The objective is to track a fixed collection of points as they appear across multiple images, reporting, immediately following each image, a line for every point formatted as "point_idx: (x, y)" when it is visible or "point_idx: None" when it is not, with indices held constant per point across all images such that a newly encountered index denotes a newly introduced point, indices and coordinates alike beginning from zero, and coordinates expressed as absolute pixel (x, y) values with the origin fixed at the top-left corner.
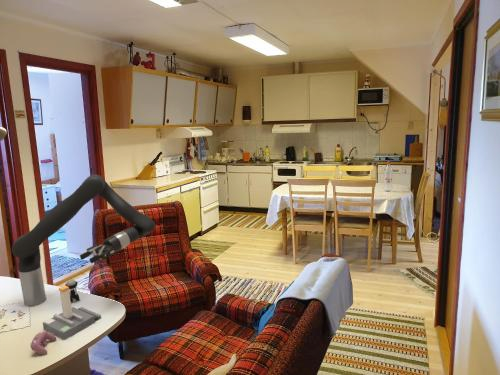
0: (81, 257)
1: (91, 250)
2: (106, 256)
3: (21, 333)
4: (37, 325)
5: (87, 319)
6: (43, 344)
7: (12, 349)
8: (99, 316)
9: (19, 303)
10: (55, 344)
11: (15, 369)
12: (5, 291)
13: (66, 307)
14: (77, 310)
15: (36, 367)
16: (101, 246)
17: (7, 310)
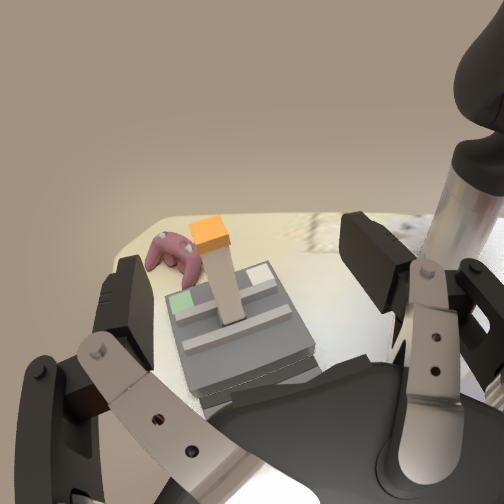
0: (342, 234)
1: (408, 303)
2: (77, 444)
3: (283, 235)
4: (301, 263)
5: (183, 366)
6: (178, 264)
7: (224, 223)
8: (205, 415)
9: None
10: (169, 289)
11: (150, 229)
12: (498, 219)
13: (210, 286)
14: (277, 352)
15: (124, 254)
16: (393, 466)
17: (416, 217)
